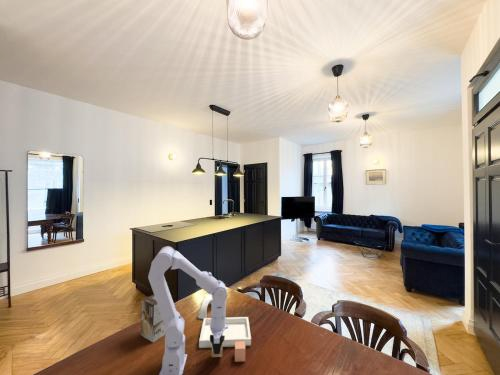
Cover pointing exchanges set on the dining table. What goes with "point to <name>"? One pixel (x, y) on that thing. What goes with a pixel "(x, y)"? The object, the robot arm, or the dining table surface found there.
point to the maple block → (217, 354)
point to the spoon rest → (205, 306)
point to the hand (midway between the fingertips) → (217, 349)
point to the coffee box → (151, 319)
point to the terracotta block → (239, 351)
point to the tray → (227, 332)
